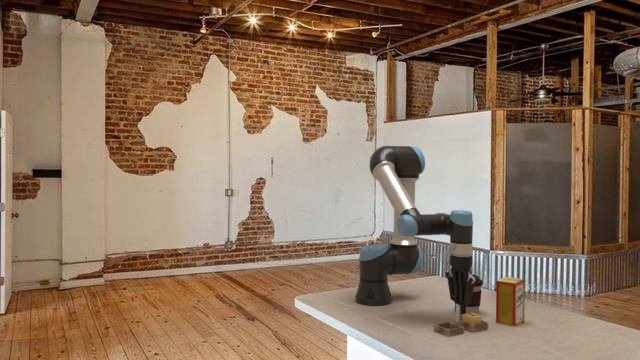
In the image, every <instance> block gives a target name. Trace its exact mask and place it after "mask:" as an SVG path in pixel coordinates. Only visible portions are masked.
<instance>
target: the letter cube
mask: <svg viewBox="0 0 640 360" xmlns="http://www.w3.org/2000/svg"><path fill="white" fill-rule="evenodd" d="M482 320H483V315H480V314H479V315H478V314H475V313H467V314H463V321H465V322H467V323H470V324H478V323H482Z"/></svg>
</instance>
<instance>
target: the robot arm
mask: <svg viewBox="0 0 640 360" xmlns="http://www.w3.org/2000/svg"><path fill="white" fill-rule="evenodd" d="M425 167H426V158H425V155H424V153H423V152H422V150H421V149H420V148H419V147H417V146H413V145H410V146H409V145H383V146H380V147H379V148H377V149H375V151H373V153H372V154H371V156H370V160H369V170H370V174H371V176H372V177H373V179H374V180H376V181H378V183H379V185H380V186H381V188H382V191H383V192H384V193H385V196H386V197H387V199H388V201H389V203H390V205H391V207H392V208H393V238H391V240H389V246H388V244H386V243H372V244H368V245H364V246H362V247H361V248H360V249H359V257H358V258H359V283H358V285H357V290H356V291H355V292H356V293H355V297H354V298H355V299H354V300H355V302H356V303H358V304H361V305H365V306H366V305H367V306H384V305H388V304H389V305H390V304H392V302H393V300H392V299H393V297H392V293H391V289H390V285H389V283H388V282H389V281H388V277H389V276H393V275H409V274H416V273H418V272H419V270H420V269H421V267H422V266H423V262H424V261H423V259H424V255H423V250H422V248H421V247H420V246H419V245H418V241H416V240H415V237H417V236H418V237H419V236H440V235H442V236H443V235H444V236H449V239H450V240H449V243H450V244H449V254H450V255H449V265H450V266H451V268H450V270H449V271H447V272H445V277H446V279H447V283H448V285H447V286H448V290H449V291H448V292H449V297H450V301H453V302H454V312H455V324H456V323H457V324H458V320H460V319H463V314H466V304H469V303H471V300H472V295H473V290H474V285H475V283H476V281H477V278H476V277H475V278H474V277H473V276H472V275H473V274H472V270H471V269H472V266H473V256H472V255H473V232H474V220H473V218H474V217H473V212H472V211H470V210H464V209H463V210H462V209H461V210H460V209H455V210H451V211H450V214H449V213H445V212H436V213H434V214H427V213H425V214H423V213H422V214H421V213H420V211H419V209H418V208H417V206H416V199H415V198H416V183H417V181H418V180H419V179H420V174H423V173H424V171H425V169H426V168H425ZM471 274H472V275H471Z"/></svg>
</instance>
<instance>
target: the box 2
mask: <svg viewBox="0 0 640 360" xmlns="http://www.w3.org/2000/svg"><path fill="white" fill-rule="evenodd" d="M457 325H460V326H463V327H464V331H466V332H469V333H472V334H473V333H474V334H475V333H479V332H483V331H484V332H485V331H489V322H488V321H485V320H483V319H482V323H478V324H470V323H467V322H465V321H463V319H460V320H458V323H457Z"/></svg>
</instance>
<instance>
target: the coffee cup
mask: <svg viewBox="0 0 640 360" xmlns="http://www.w3.org/2000/svg"><path fill="white" fill-rule="evenodd" d="M471 275H472V276H473V277H474V278H475V277H476V278H477V281H476V283H475V285H474V290H473V295H472V300H471V303H469V304H466V314H467V313H475V314H478V315H480V306H481V302H482V301H481V300H482V299H481V298H482V286H483V285H484V282H483V281H484V280H483V279H480V277H479V275H476V274H472V273H471Z"/></svg>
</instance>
